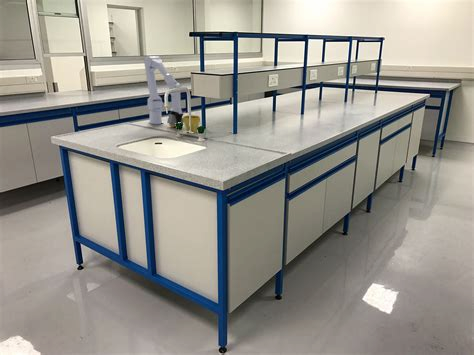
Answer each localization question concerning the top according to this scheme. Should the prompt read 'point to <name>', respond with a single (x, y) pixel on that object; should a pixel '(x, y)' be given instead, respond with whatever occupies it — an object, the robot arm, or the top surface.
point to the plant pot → (194, 122)
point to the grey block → (173, 119)
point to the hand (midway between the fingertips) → (176, 123)
